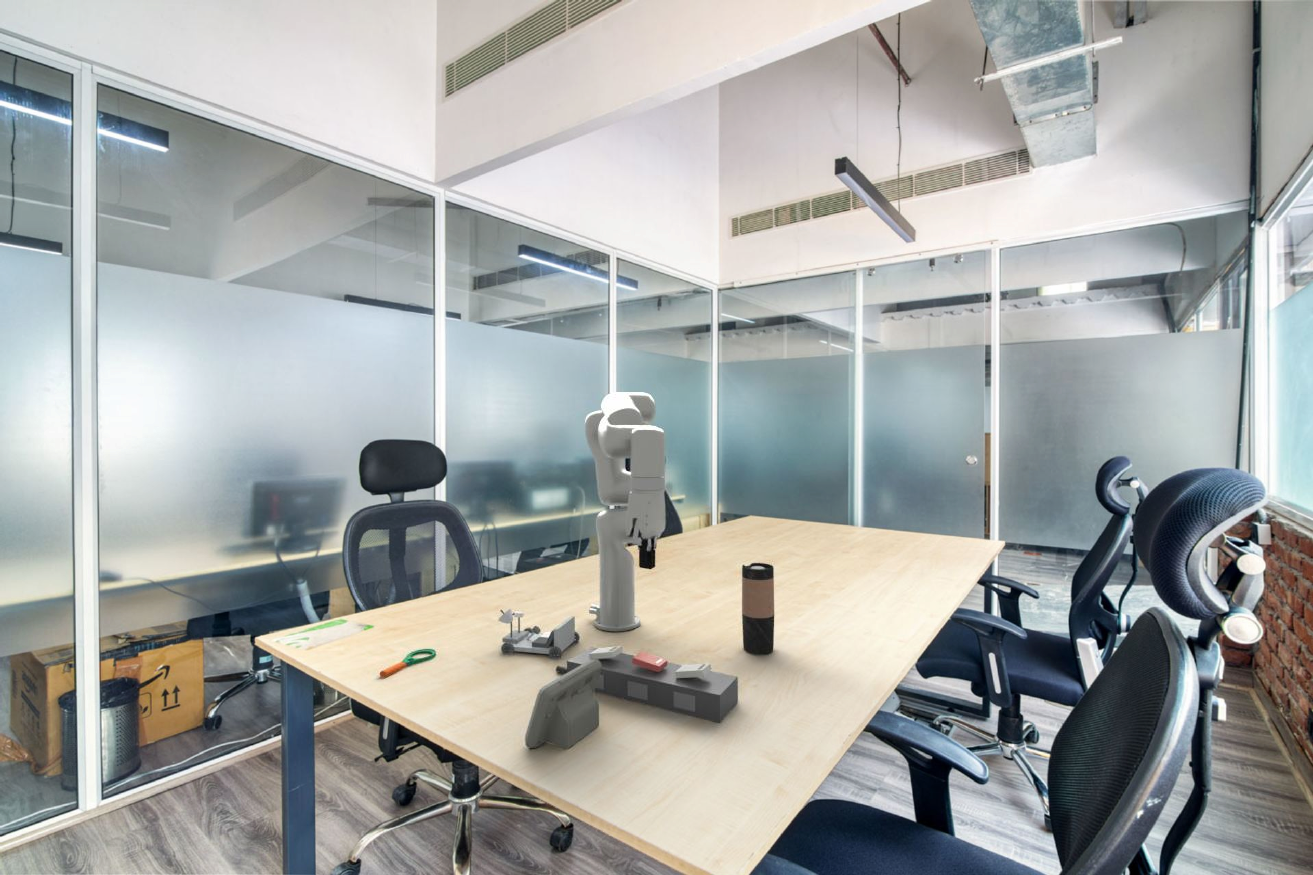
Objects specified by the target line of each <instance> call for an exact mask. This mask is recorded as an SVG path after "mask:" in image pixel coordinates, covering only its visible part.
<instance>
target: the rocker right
mask: <svg viewBox="0 0 1313 875" xmlns="http://www.w3.org/2000/svg"><path fill="white" fill-rule="evenodd" d="M710 671H712V665H711V663H696V664H683V666H681V667H680V668H679V669H678V670H677V671H675V675H676V678H689V677H704V676H705V675H706V674H707V673H709V672H710Z"/></svg>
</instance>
